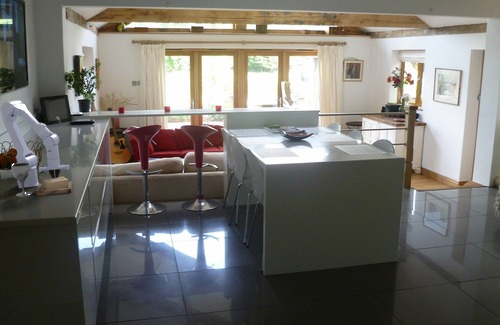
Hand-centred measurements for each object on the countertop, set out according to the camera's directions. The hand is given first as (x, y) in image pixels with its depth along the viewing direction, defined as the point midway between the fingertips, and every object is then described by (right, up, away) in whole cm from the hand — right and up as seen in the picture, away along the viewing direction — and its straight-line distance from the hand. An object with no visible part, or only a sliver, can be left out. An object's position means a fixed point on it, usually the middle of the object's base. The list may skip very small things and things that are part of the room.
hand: (55, 183), depth 253 cm
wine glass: (-10, -5, -13) cm, 18 cm away
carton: (+2, -2, -5) cm, 6 cm away
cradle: (+2, -3, -6) cm, 7 cm away
